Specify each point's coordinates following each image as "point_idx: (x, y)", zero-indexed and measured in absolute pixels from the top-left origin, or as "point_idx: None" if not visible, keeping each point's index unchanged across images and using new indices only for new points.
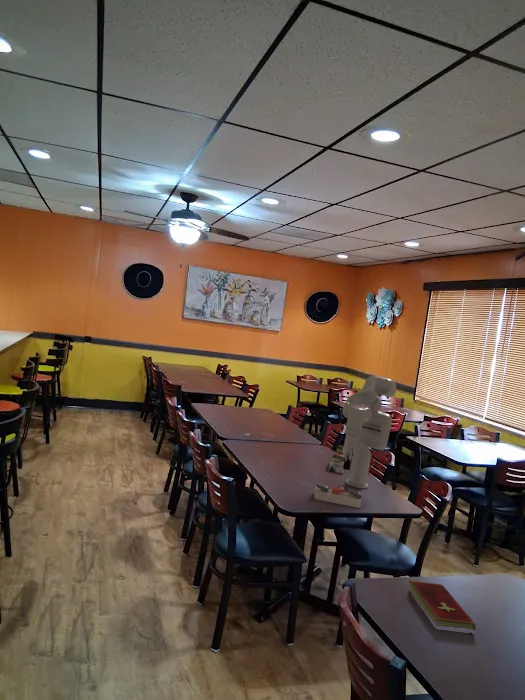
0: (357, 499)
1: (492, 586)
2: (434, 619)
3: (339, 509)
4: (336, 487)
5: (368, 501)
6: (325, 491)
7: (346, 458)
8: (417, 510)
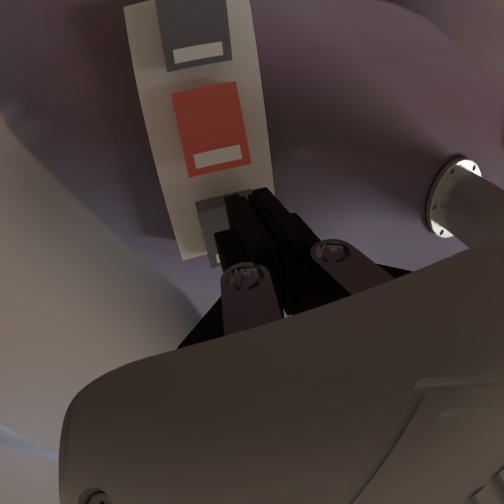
0: (189, 241)
1: (20, 441)
2: None
3: (75, 162)
4: (232, 114)
5: None
6: None
7: (224, 321)
8: None
